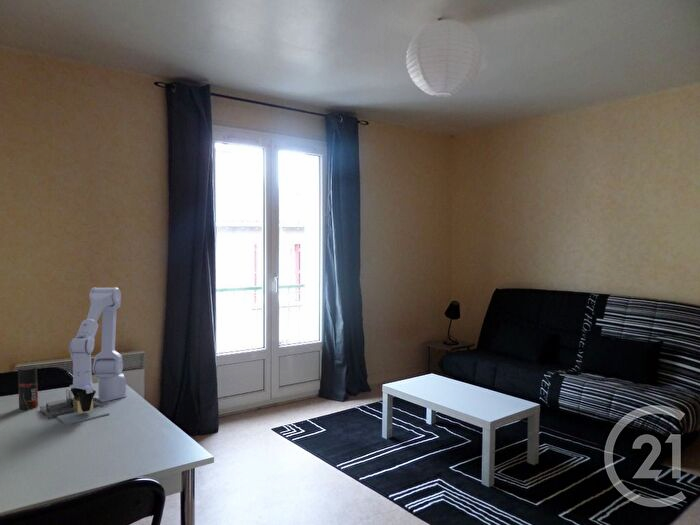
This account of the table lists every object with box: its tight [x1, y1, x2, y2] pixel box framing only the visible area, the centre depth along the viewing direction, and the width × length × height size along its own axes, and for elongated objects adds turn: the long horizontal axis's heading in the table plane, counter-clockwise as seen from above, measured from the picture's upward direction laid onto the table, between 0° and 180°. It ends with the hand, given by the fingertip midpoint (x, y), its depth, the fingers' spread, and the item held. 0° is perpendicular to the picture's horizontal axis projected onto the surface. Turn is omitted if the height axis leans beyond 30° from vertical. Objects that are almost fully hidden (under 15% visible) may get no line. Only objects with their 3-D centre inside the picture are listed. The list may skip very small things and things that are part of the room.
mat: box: [56, 406, 110, 426], centre depth 174 cm, size 14×10×1 cm
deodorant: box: [17, 365, 39, 411], centre depth 183 cm, size 6×6×15 cm
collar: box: [72, 397, 93, 414], centre depth 174 cm, size 5×5×4 cm
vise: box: [39, 387, 99, 420], centre depth 181 cm, size 16×12×8 cm
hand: (83, 409), depth 174 cm, fingers closed on collar, 5 cm apart
